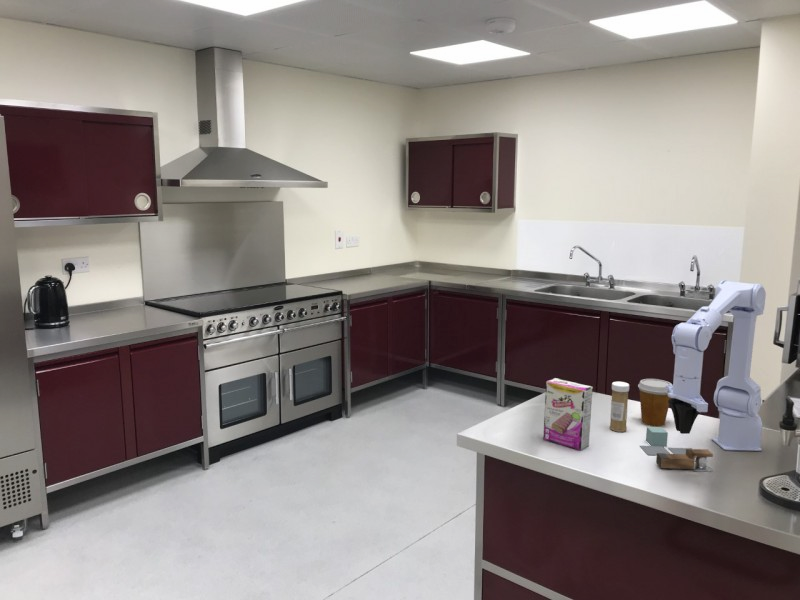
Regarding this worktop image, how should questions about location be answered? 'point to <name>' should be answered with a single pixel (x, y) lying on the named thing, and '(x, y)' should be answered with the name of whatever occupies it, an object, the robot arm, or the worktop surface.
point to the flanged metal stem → (701, 465)
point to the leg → (681, 458)
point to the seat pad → (654, 450)
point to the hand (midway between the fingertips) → (682, 431)
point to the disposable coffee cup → (654, 401)
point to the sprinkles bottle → (619, 406)
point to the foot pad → (679, 450)
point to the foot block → (656, 436)
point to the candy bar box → (567, 413)
